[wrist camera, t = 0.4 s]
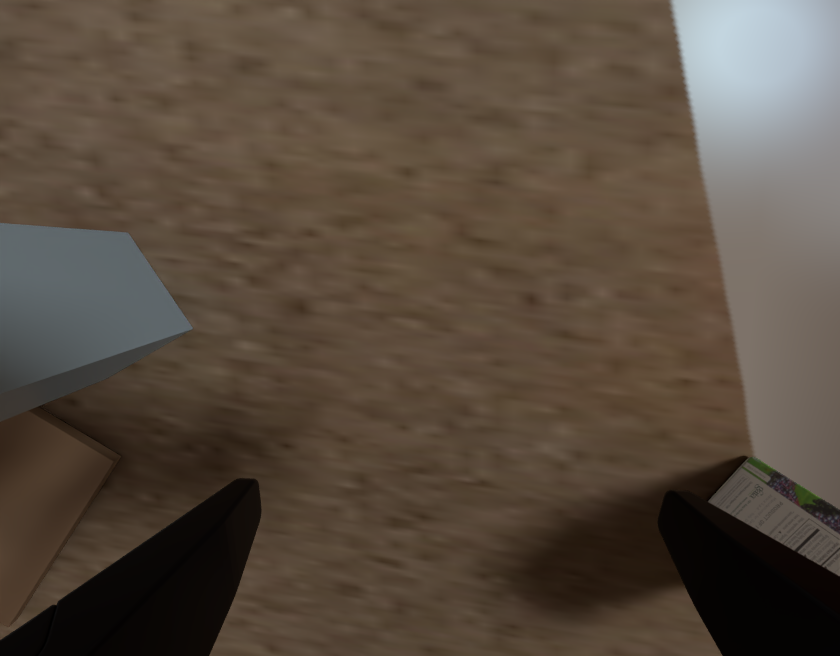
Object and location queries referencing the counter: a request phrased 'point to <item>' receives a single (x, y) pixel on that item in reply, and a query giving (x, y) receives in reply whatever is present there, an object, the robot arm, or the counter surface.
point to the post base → (42, 498)
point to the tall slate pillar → (75, 311)
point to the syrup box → (783, 512)
